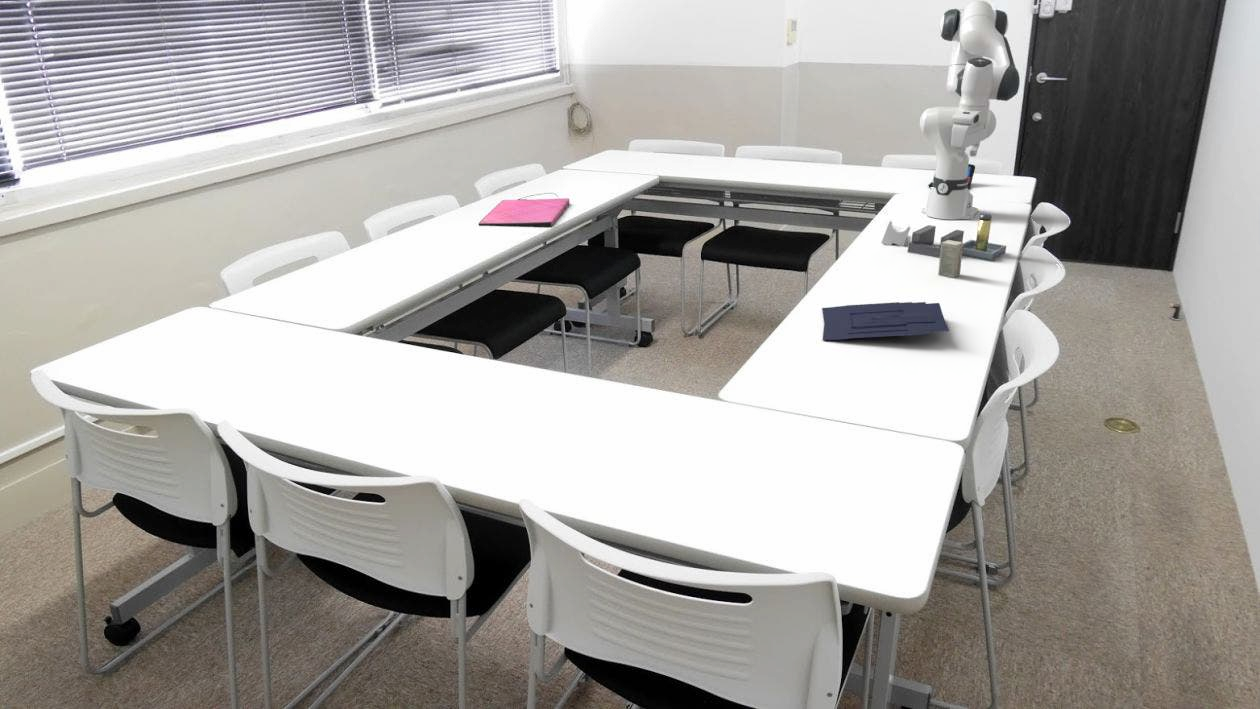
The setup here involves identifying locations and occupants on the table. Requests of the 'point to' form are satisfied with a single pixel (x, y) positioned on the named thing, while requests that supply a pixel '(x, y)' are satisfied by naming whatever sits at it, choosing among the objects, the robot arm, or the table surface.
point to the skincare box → (950, 258)
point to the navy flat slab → (882, 320)
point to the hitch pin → (983, 232)
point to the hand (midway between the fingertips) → (967, 158)
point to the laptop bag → (526, 212)
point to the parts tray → (990, 255)
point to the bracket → (894, 234)
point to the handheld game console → (969, 174)
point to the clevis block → (930, 241)
